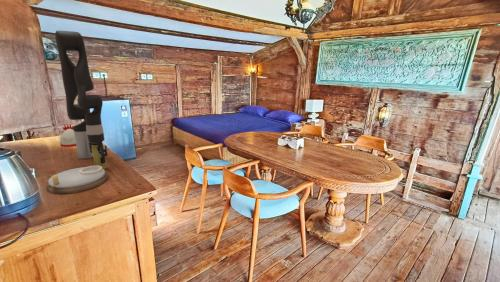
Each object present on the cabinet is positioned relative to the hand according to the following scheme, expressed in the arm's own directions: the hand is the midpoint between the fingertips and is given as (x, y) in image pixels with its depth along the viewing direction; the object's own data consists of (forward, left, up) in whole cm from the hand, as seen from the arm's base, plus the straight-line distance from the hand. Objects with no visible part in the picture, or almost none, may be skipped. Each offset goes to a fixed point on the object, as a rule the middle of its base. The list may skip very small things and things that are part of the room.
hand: (99, 161), depth 129 cm
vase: (0, 0, -4) cm, 4 cm away
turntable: (+9, -15, -2) cm, 18 cm away
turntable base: (+9, -15, -4) cm, 18 cm away
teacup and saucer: (-84, +19, -5) cm, 86 cm away
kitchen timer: (-65, +14, -4) cm, 67 cm away
